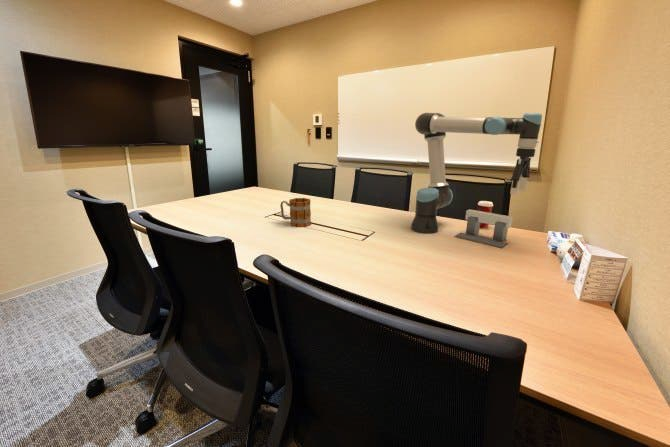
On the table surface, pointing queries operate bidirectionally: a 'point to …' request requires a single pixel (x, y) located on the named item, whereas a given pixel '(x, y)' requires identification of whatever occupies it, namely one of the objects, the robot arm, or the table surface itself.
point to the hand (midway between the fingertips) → (517, 192)
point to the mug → (298, 212)
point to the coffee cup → (484, 210)
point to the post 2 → (500, 232)
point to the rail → (489, 217)
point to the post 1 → (472, 226)
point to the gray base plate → (481, 240)
